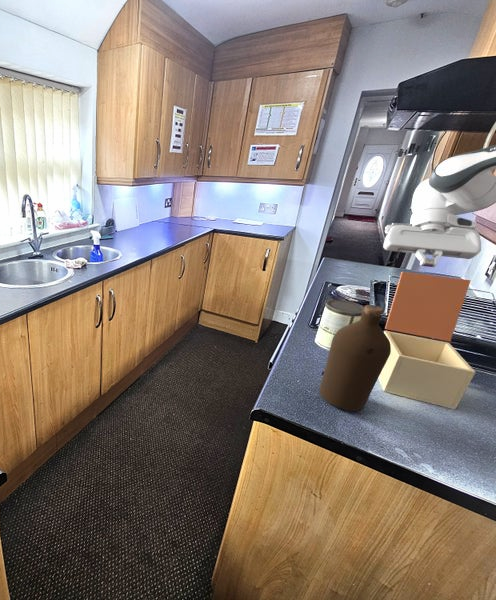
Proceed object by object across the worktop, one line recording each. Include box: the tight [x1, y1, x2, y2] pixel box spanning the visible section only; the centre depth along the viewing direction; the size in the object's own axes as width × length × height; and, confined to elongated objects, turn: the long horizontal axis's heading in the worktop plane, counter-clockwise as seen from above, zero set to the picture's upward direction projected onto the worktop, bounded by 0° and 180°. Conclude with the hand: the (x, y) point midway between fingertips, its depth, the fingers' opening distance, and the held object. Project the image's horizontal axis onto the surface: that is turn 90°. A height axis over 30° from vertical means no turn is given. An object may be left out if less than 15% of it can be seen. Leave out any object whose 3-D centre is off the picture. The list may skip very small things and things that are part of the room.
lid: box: [384, 271, 471, 342], centre depth 88 cm, size 16×14×1 cm
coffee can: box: [314, 298, 365, 351], centre depth 103 cm, size 10×10×14 cm
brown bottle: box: [318, 304, 391, 412], centre depth 76 cm, size 11×11×25 cm
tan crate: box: [377, 330, 476, 410], centre depth 86 cm, size 16×14×11 cm
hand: (428, 265), depth 92 cm, fingers closed
